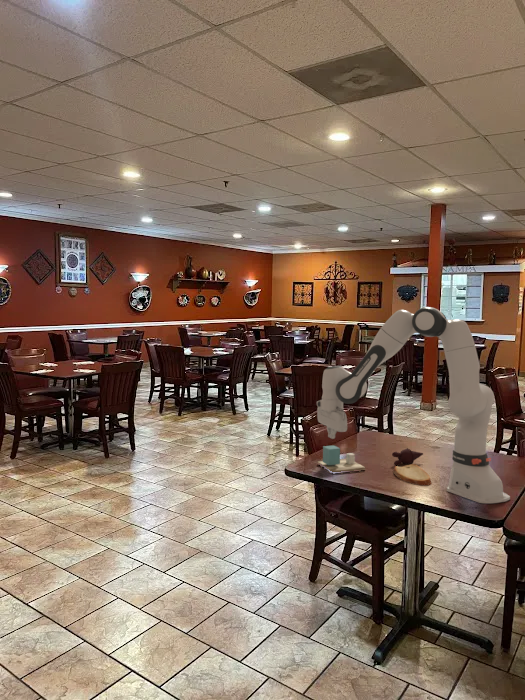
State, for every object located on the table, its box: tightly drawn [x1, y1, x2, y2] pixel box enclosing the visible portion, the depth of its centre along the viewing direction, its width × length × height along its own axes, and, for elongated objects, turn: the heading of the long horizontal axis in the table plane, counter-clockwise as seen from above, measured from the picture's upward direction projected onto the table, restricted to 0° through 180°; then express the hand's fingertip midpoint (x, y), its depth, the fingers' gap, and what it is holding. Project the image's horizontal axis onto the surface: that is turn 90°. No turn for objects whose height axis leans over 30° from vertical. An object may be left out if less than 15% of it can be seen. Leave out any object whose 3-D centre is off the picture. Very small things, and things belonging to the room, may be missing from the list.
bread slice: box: [392, 463, 432, 486], centre depth 218 cm, size 18×18×4 cm
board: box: [316, 458, 366, 472], centre depth 229 cm, size 14×15×2 cm
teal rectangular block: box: [322, 445, 341, 465], centre depth 227 cm, size 5×5×7 cm
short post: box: [345, 452, 356, 464], centre depth 230 cm, size 3×3×4 cm
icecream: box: [391, 448, 424, 466], centre depth 236 cm, size 7×7×15 cm
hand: (331, 437), depth 227 cm, fingers closed
